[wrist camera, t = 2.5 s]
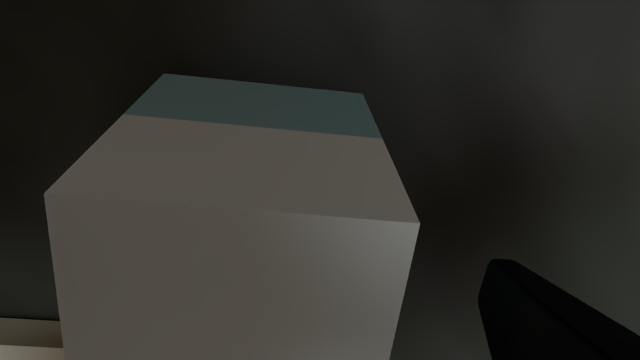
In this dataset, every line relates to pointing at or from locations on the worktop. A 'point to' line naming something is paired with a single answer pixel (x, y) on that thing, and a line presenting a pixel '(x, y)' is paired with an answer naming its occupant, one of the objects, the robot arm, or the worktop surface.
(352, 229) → the block stack
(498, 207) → the worktop surface
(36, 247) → the worktop surface
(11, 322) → the seating plate
